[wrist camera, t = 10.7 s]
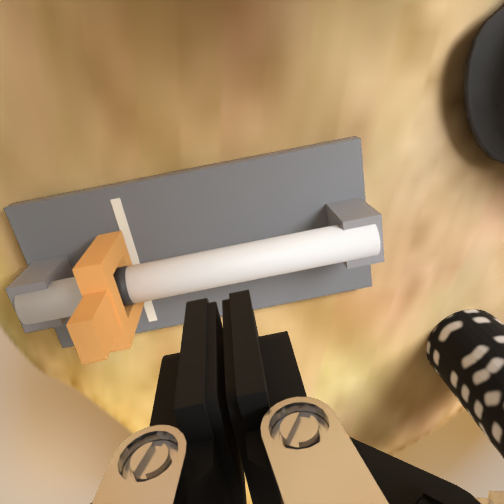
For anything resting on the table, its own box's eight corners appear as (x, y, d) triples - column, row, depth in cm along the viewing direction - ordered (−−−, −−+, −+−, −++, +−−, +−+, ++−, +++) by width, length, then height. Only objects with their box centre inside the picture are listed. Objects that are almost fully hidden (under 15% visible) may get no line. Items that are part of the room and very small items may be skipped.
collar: (121, 230, 35) (84, 290, 25) (144, 302, 38) (119, 383, 28) (97, 235, 35) (50, 297, 25) (122, 307, 38) (89, 389, 28)
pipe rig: (355, 136, 36) (388, 149, 29) (366, 279, 42) (397, 319, 35) (11, 203, 36) (-37, 232, 29) (67, 339, 41) (38, 391, 34)
